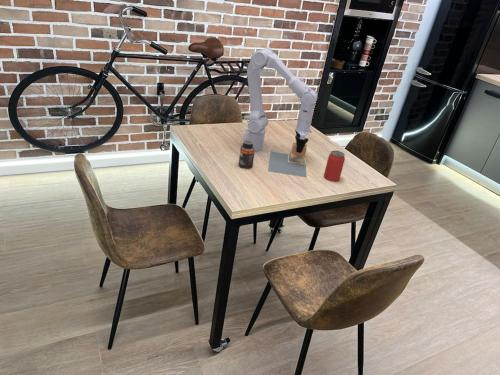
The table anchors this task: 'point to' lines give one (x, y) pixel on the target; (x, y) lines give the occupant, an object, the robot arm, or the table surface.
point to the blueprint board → (286, 165)
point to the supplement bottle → (246, 155)
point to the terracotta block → (297, 152)
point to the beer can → (334, 166)
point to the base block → (297, 158)
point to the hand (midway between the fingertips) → (298, 148)
